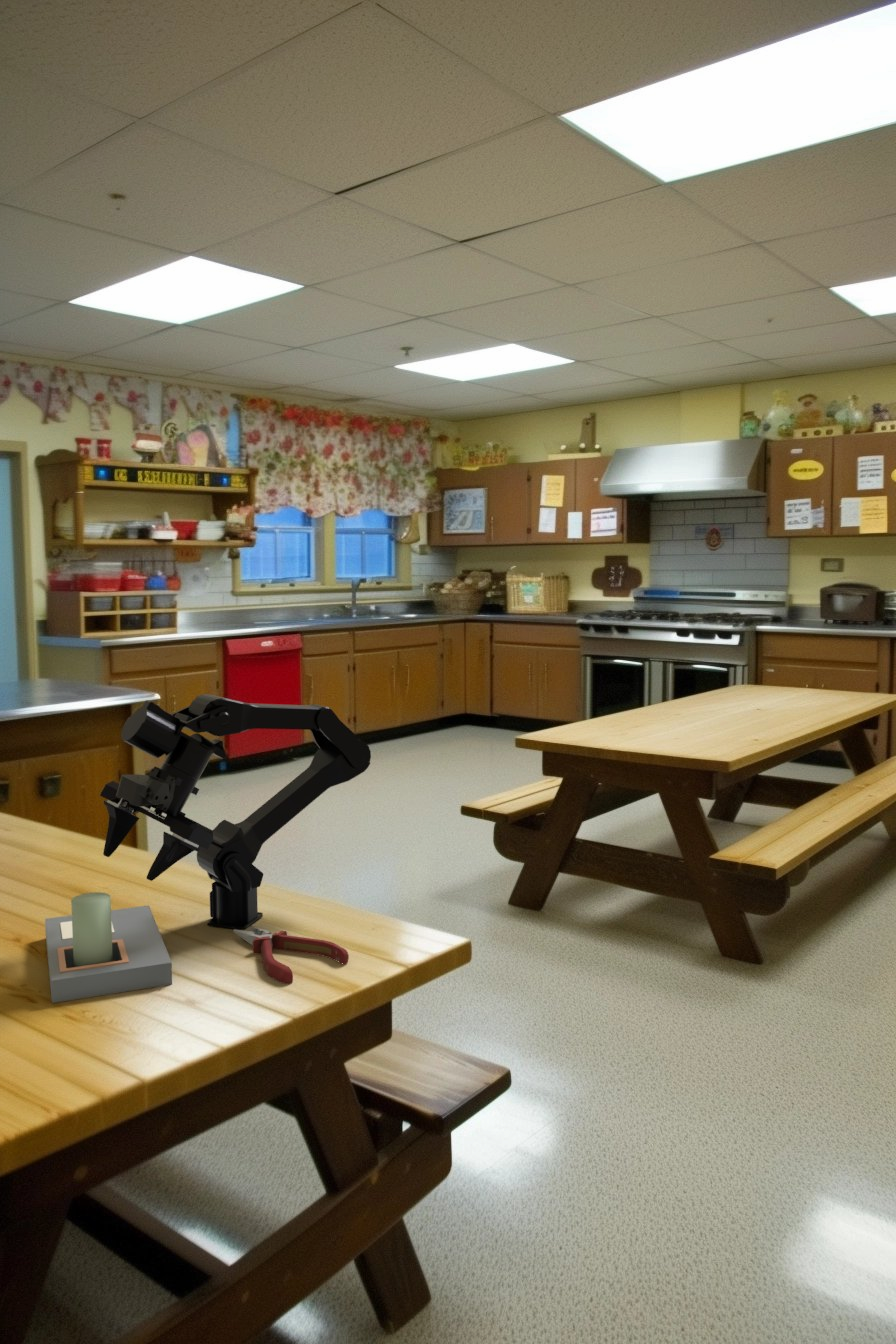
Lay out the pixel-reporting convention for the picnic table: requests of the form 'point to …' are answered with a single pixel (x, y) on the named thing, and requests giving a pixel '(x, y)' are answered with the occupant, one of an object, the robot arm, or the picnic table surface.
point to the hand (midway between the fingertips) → (127, 867)
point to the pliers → (267, 941)
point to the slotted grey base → (133, 957)
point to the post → (91, 929)
